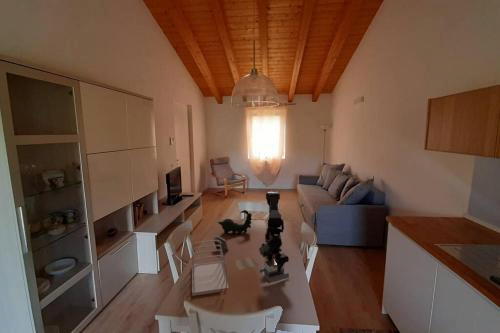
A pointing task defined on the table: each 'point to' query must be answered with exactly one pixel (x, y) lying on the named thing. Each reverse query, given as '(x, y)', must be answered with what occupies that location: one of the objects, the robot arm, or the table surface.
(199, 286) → the file sorter
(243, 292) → the table surface
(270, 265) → the grey drawer
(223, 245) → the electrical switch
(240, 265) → the stand
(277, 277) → the cabinet frame
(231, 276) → the table surface
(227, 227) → the toy figurine
